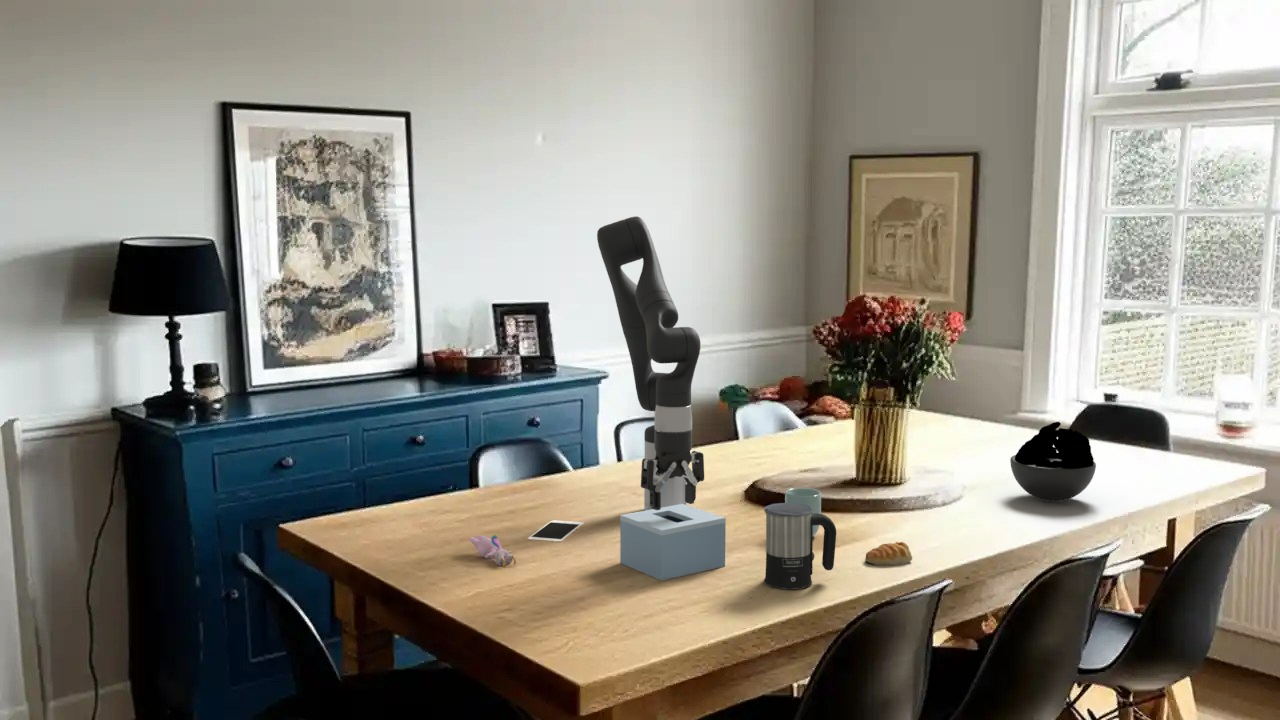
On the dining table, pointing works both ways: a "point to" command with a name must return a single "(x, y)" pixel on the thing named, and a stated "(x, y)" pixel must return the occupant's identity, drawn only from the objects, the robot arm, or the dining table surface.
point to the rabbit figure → (492, 549)
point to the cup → (805, 500)
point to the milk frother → (795, 544)
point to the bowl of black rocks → (1054, 464)
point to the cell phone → (556, 531)
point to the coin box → (672, 541)
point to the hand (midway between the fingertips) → (672, 506)
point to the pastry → (889, 554)
